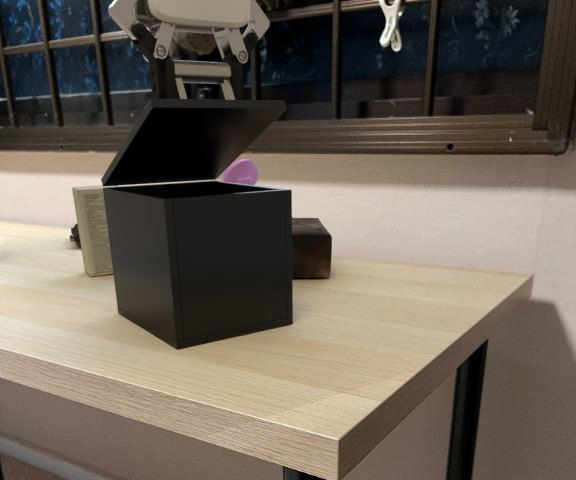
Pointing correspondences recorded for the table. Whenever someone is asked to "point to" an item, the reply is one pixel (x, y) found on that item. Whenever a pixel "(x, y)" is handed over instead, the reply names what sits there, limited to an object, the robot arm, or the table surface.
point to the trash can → (201, 258)
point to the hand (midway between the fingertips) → (200, 108)
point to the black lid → (191, 131)
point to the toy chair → (241, 172)
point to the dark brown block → (310, 248)
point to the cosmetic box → (93, 229)
